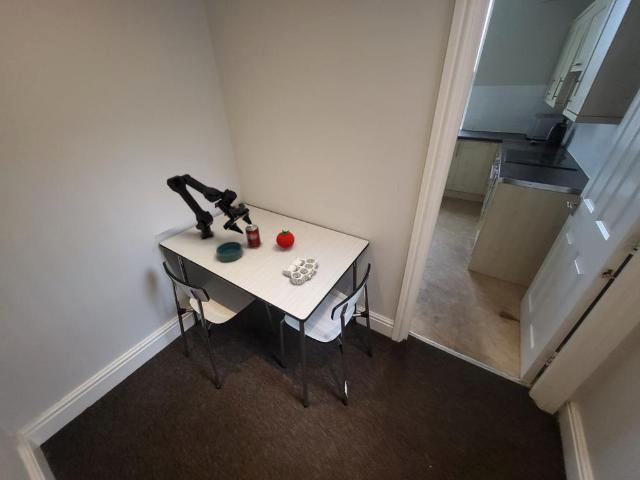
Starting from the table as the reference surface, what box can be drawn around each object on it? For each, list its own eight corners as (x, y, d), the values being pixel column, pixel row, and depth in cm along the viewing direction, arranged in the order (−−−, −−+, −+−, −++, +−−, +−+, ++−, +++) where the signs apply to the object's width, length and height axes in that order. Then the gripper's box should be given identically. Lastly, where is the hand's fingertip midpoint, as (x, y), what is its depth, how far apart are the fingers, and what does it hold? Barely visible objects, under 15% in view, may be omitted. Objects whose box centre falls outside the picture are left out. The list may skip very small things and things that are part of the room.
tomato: (273, 246, 146) (271, 231, 141) (286, 239, 152) (285, 225, 147) (285, 254, 140) (283, 238, 135) (298, 246, 146) (298, 231, 141)
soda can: (258, 249, 144) (255, 231, 137) (246, 248, 145) (242, 229, 139) (263, 242, 150) (260, 224, 143) (251, 241, 151) (248, 223, 145)
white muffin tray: (299, 258, 137) (323, 266, 131) (279, 277, 123) (304, 288, 117) (299, 253, 135) (323, 261, 129) (278, 272, 122) (304, 282, 116)
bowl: (213, 254, 140) (211, 248, 137) (235, 245, 147) (234, 238, 145) (225, 265, 132) (223, 258, 129) (247, 255, 139) (246, 248, 137)
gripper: (223, 208, 128) (245, 230, 131) (244, 194, 143) (264, 214, 145) (213, 219, 134) (235, 240, 137) (234, 205, 149) (254, 224, 152)
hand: (247, 229), depth 143 cm, fingers open, 9 cm apart
